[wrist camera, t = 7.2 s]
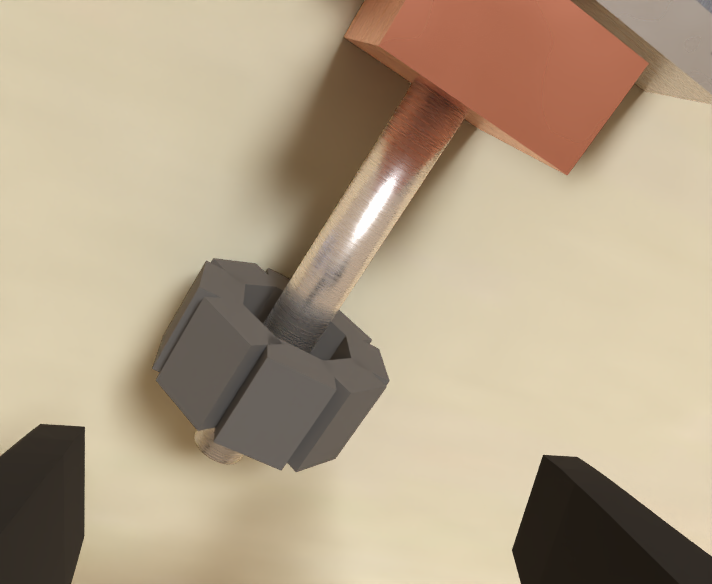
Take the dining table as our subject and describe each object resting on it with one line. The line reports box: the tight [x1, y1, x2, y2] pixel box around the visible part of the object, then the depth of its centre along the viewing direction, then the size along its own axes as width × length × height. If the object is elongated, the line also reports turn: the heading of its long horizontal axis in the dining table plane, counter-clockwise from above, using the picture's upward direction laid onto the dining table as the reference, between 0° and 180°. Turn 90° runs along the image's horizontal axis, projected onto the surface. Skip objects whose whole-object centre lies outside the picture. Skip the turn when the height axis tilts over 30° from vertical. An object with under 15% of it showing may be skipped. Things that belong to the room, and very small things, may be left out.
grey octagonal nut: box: [152, 258, 389, 472], centre depth 16 cm, size 5×2×5 cm, turn 58°
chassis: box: [195, 0, 712, 464], centre depth 14 cm, size 9×26×6 cm, turn 148°
